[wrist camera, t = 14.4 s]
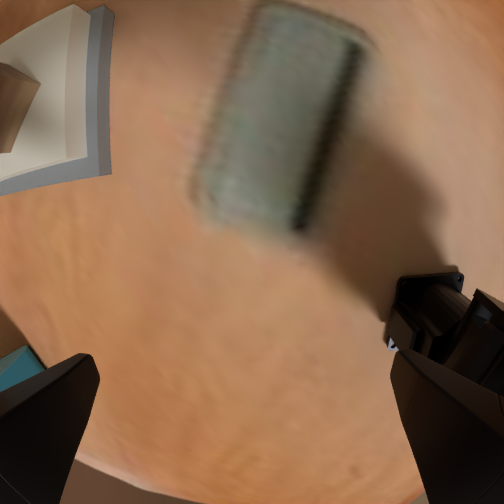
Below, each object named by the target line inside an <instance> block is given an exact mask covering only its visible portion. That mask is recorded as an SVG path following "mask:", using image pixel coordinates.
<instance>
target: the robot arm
mask: <svg viewBox="0 0 504 504" xmlns="http://www.w3.org/2000/svg"><path fill="white" fill-rule="evenodd" d="M458 278H459V279H458ZM405 281H406V283H405V285H403V286H402V284H403V282H405ZM463 281H464V275H463V274H462V273H460V272H452V273H440V274H428V275H415V276H403V277H401V278H400V279H399V280H398V282H397V289H396V296H395V302H394V304H393V306H392V309H391V315H390V321H389V326H388V331H387V333H388V340H387V347H388V349H389V350H390V351H394V350H398V351H397V352H396V354H395V357H394V361H393V365H392V369H391V373H390V379H391V383H392V387H393V390H394V394H395V398H396V402H397V406H398V410H399V414H400V418H401V421H402V424H403V427H404V430H405V432H406V435H407V438H408V441H409V443H410V446H411V449H412V452H413V455H414V458H415V461H416V464H417V467H418V470H419V473H420V476H421V479H422V482H423V485H424V488H425V491H426V495H427V498H428V501H429V504H504V303H503V302H501V301H499V300H497V299H496V298H494V297H492V296H490V295H488V294H487V293H485V292H483V291H481V290H479V289H476V291H475V293H474V295H473V296H474V298H473V299H472V301H471V300H469V299H468V298H467V297H466V296H464V295H463V294H462V293H461V291H462V286H463ZM392 344H394V345H392ZM391 345H392V346H391ZM99 383H100V375H99V372H98V370H97V367H96V364H95V362H94V359H93V357H92V356H91V355H90V354H84V353H78V354H76V355H74V356H72V357H70V358H68V359H66V360H64V361H62V362H60V363H58V364H56V365H54V366H52V367H50V368H48V369H46V370H44V371H42V372H40V373H38V374H36V375H34V376H32V377H30V378H28V379H26V380H24V381H22V382H20V383H18V384H16V385H13V386H11V387H9V388H7V389H5V390H3V391H1V392H0V504H59V503H60V500H61V496H62V493H63V490H64V487H65V484H66V481H67V478H68V474H69V472H70V469H71V466H72V463H73V460H74V458H75V455H76V452H77V449H78V447H79V444H80V441H81V439H82V436H83V434H84V431H85V428H86V426H87V423H88V420H89V417H90V414H91V410H92V407H93V403H94V400H95V396H96V393H97V389H98V386H99Z"/></svg>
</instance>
